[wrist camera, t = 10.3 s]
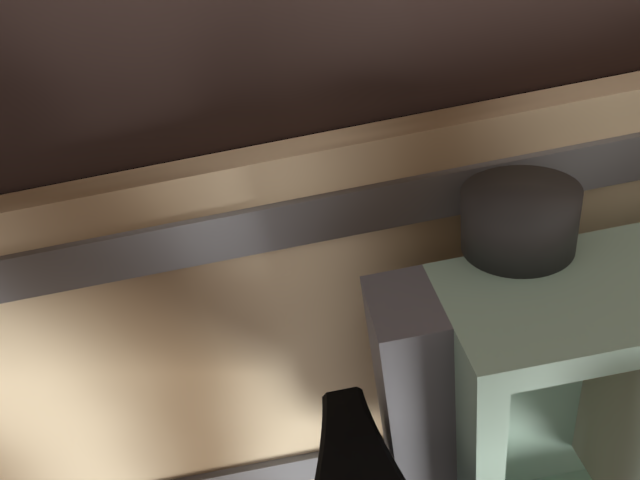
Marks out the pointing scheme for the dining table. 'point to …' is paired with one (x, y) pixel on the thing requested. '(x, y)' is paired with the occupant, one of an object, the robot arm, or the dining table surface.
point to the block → (609, 427)
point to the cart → (503, 332)
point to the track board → (254, 281)
